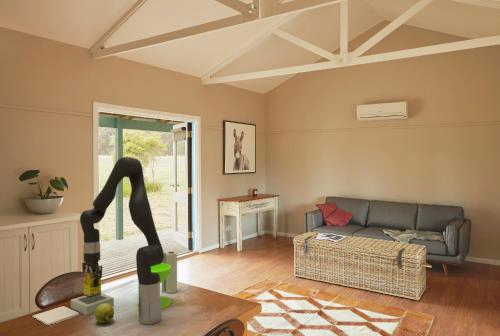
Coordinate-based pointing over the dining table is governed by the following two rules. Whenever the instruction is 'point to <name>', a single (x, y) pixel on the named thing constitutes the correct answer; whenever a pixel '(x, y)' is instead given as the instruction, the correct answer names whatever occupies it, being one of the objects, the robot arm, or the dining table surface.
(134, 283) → the dining table surface
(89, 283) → the supplement box
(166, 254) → the paper towel roll
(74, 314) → the mat
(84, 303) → the frame
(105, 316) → the apple
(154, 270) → the wineglass
